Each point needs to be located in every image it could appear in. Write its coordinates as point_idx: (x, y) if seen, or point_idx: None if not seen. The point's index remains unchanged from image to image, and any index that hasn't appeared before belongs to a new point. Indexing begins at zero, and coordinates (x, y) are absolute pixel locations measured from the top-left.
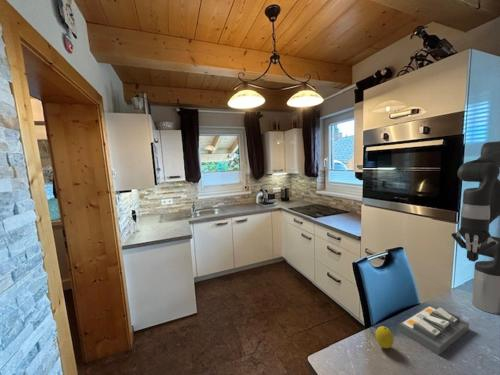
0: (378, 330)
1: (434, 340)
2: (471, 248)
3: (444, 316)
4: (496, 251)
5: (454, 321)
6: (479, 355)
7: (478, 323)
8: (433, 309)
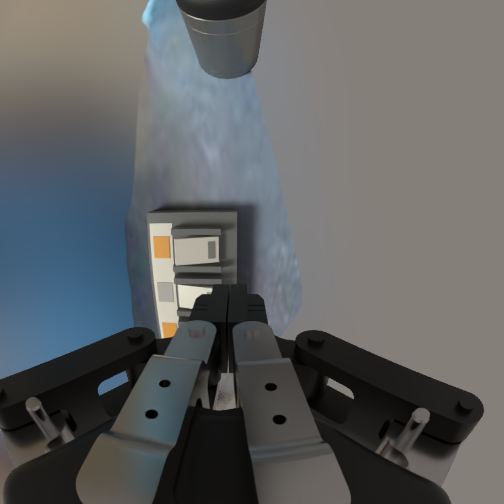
0: None
1: None
2: (216, 376)
3: (198, 263)
4: None
5: (218, 254)
6: (278, 285)
7: (240, 153)
8: (162, 229)
